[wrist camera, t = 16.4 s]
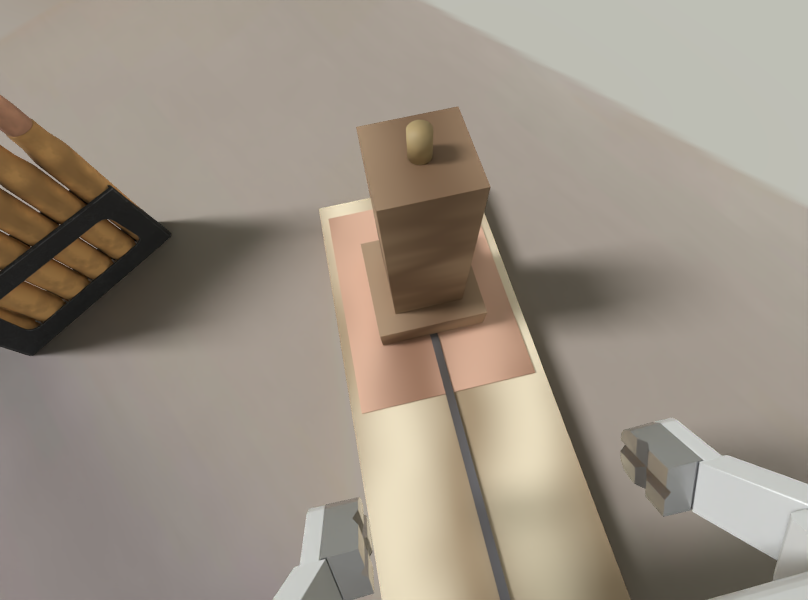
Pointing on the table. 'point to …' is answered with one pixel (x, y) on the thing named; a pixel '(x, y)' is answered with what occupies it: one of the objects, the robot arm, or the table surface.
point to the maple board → (463, 446)
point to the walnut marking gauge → (423, 223)
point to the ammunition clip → (59, 235)
